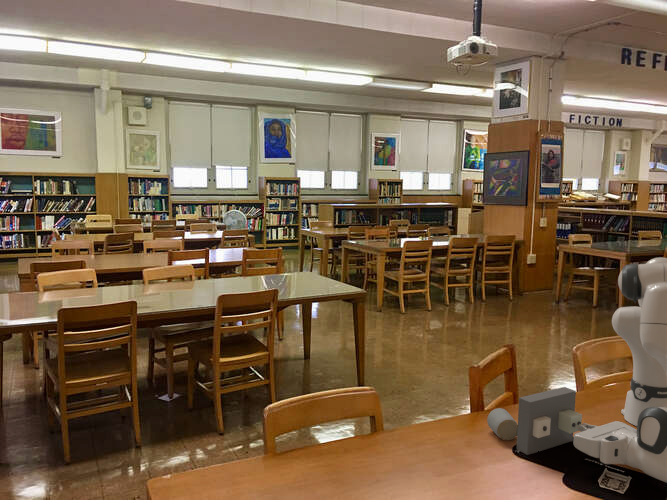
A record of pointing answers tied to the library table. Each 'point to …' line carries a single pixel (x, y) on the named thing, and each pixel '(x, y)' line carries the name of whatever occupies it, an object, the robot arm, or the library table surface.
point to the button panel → (543, 406)
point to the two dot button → (569, 420)
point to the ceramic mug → (502, 424)
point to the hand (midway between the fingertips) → (580, 426)
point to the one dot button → (541, 426)
